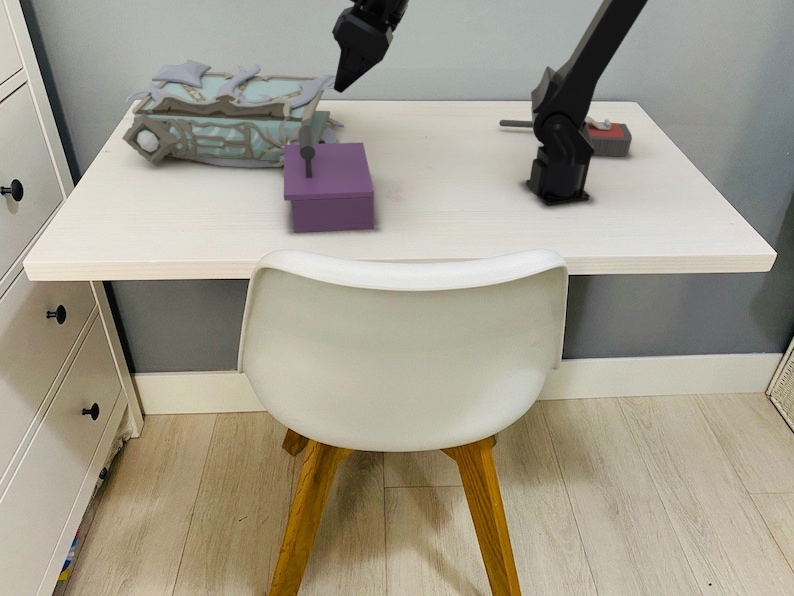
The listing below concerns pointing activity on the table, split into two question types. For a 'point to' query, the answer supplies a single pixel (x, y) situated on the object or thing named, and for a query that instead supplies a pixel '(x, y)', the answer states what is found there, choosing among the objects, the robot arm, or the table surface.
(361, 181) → the lid
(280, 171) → the table surface
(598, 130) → the walkie-talkie
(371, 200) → the box
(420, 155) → the table surface
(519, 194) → the table surface
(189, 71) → the ornate book
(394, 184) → the table surface
